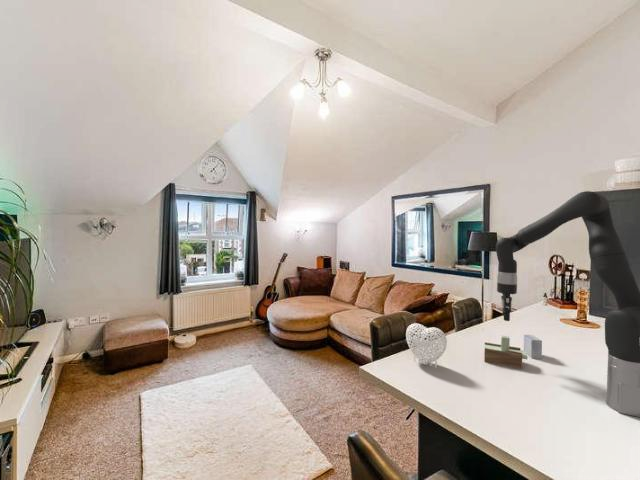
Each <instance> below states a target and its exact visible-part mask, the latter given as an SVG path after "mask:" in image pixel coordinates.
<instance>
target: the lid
mask: <svg viewBox="0 0 640 480" xmlns="http://www.w3.org/2000/svg"><path fill="white" fill-rule="evenodd" d="M500 336H501V339H500V345H501V347H497V346H491V345H485V344H484V349H485V348H488V349H494V350H500V351H506V350H508V351H514V352H520V353H522V360H528V356H529V355H527V353H526V351H524V350H521V349H520V350H516V349H510V348H509V346H510V339H511V338H510V336H507V335H500Z"/></svg>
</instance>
